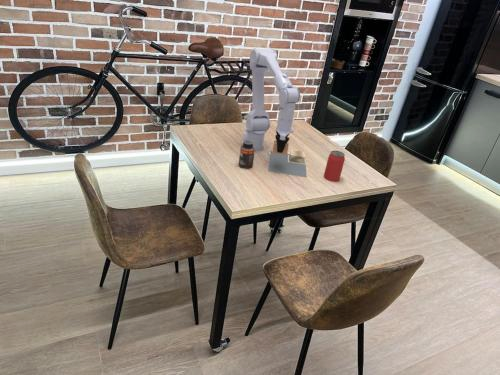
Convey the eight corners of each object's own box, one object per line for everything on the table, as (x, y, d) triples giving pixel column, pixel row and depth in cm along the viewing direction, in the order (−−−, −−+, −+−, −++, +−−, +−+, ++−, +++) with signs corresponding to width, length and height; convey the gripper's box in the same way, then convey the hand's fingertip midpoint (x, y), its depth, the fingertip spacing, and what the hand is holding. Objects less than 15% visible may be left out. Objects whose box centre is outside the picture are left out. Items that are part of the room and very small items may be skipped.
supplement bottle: (254, 166, 159) (257, 141, 153) (249, 171, 154) (253, 146, 148) (241, 162, 160) (244, 138, 155) (236, 168, 155) (239, 142, 150)
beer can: (329, 184, 153) (336, 157, 147) (320, 176, 158) (326, 150, 152) (342, 182, 156) (349, 156, 150) (332, 175, 161) (339, 149, 155)
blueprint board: (267, 172, 155) (267, 170, 154) (270, 152, 173) (270, 150, 173) (306, 178, 154) (306, 176, 154) (304, 158, 173) (305, 156, 172)
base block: (289, 161, 166) (291, 155, 164) (290, 155, 171) (291, 149, 169) (303, 163, 165) (304, 157, 164) (303, 158, 171) (304, 151, 169)
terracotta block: (272, 153, 154) (273, 144, 152) (272, 149, 157) (274, 140, 155) (286, 155, 154) (288, 146, 152) (287, 151, 157) (288, 142, 155)
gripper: (295, 126, 142) (289, 158, 148) (295, 114, 155) (289, 144, 161) (277, 123, 142) (271, 155, 149) (278, 111, 155) (273, 142, 161)
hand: (279, 150), depth 155 cm, fingers closed on terracotta block, 4 cm apart
